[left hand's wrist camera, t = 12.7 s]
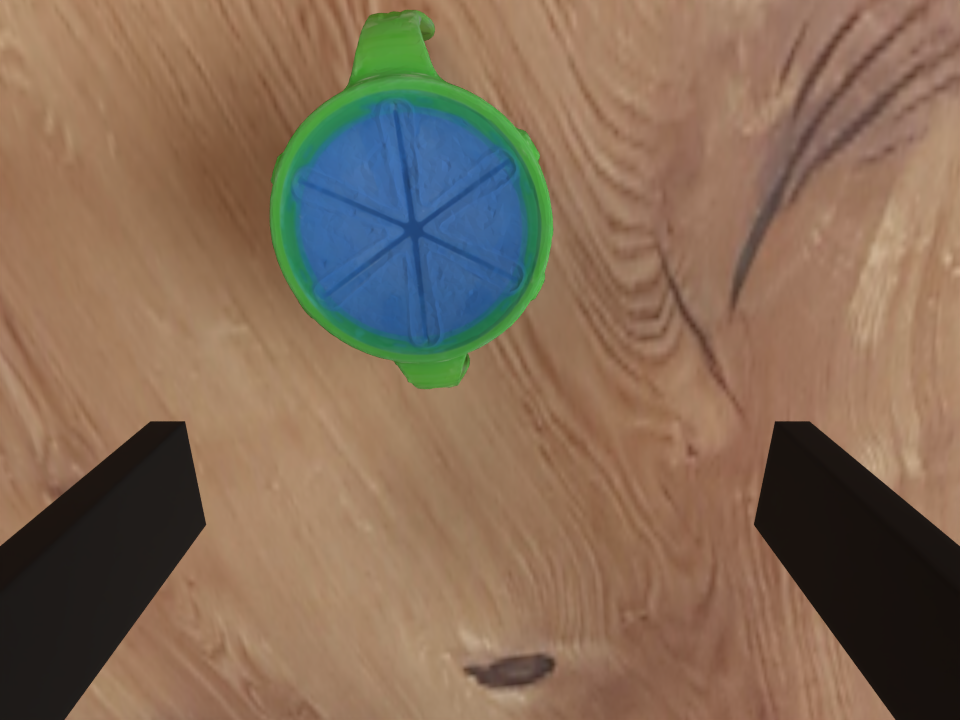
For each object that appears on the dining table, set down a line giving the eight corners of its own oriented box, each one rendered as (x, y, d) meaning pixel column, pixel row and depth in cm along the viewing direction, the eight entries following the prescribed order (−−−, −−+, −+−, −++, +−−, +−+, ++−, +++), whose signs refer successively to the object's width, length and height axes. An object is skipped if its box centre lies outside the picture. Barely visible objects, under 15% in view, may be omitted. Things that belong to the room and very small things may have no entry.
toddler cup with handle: (525, 342, 29) (541, 424, 20) (345, 339, 29) (289, 419, 20) (540, 39, 24) (570, -14, 15) (322, 35, 24) (237, -20, 15)
